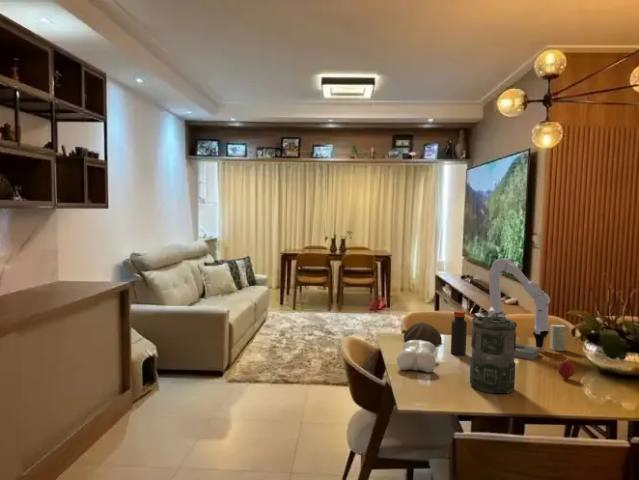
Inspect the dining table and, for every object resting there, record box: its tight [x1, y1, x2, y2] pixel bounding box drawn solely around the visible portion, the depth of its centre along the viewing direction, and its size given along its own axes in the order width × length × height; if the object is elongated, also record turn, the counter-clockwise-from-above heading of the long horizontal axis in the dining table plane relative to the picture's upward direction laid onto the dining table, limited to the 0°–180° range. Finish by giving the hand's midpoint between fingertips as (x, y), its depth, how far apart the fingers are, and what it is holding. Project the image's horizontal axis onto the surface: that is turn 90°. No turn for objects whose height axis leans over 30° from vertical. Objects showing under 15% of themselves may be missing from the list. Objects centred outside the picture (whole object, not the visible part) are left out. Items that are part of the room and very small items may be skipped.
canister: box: [469, 312, 518, 394], centre depth 181 cm, size 16×16×28 cm
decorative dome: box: [403, 322, 443, 347], centre depth 249 cm, size 19×20×10 cm
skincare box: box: [549, 324, 567, 352], centre depth 239 cm, size 6×4×12 cm
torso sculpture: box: [396, 340, 437, 373], centre depth 209 cm, size 16×11×30 cm
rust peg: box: [535, 337, 546, 353], centre depth 235 cm, size 3×3×8 cm
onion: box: [557, 359, 575, 380], centre depth 193 cm, size 6×6×8 cm
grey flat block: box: [514, 343, 540, 361], centre depth 229 cm, size 16×12×3 cm
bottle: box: [450, 310, 468, 357], centre depth 227 cm, size 7×7×20 cm
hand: (540, 346), depth 235 cm, fingers closed on rust peg, 3 cm apart
